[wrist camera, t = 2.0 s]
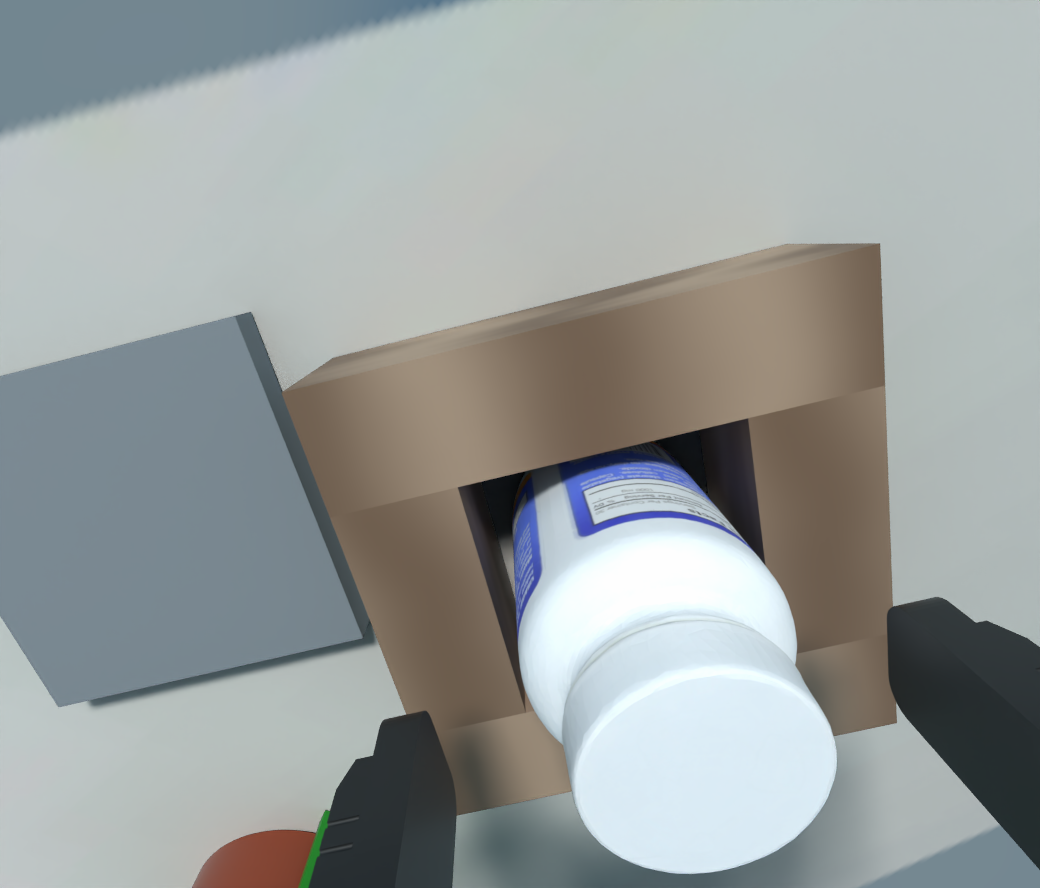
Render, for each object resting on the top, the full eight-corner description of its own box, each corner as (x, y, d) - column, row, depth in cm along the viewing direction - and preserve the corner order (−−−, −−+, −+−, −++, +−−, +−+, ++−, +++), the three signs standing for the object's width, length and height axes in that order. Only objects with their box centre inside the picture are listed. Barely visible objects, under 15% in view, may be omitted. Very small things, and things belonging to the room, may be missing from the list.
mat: (250, 312, 16) (234, 316, 15) (369, 618, 19) (362, 637, 18) (-94, 400, 16) (-131, 410, 15) (80, 684, 19) (58, 707, 18)
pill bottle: (597, 613, 19) (688, 959, 10) (474, 512, 18) (446, 801, 8) (724, 501, 18) (963, 775, 9) (602, 384, 16) (731, 559, 7)
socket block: (786, 243, 15) (879, 243, 12) (819, 630, 19) (896, 722, 16) (332, 358, 16) (281, 392, 12) (456, 709, 20) (446, 817, 16)
